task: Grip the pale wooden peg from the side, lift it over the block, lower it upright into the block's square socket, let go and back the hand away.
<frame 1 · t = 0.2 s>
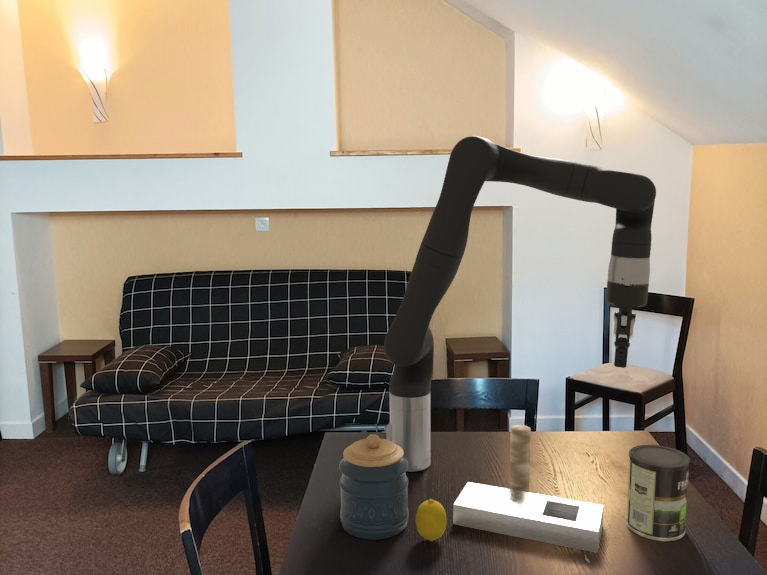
hand: (620, 361, 128), 28 cm above the table, tool pointing down, fingers open, 8 cm apart
coffee can: (654, 527, 121), on the table
peg: (519, 492, 135), on the table
block: (527, 524, 123), on the table
lemon: (431, 542, 118), on the table
canister: (374, 523, 124), on the table
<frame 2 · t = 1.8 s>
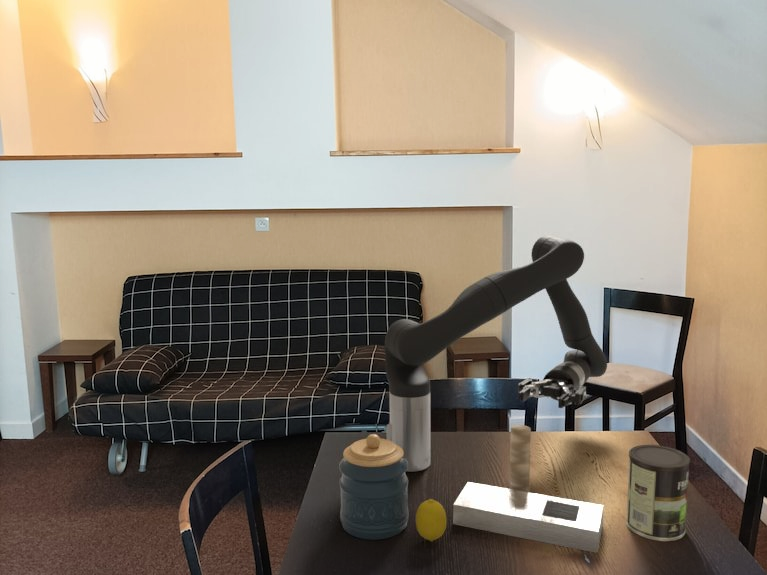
hand: (540, 400, 142), 17 cm above the table, tool horizontal, fingers open, 8 cm apart
nothing on the table moved.
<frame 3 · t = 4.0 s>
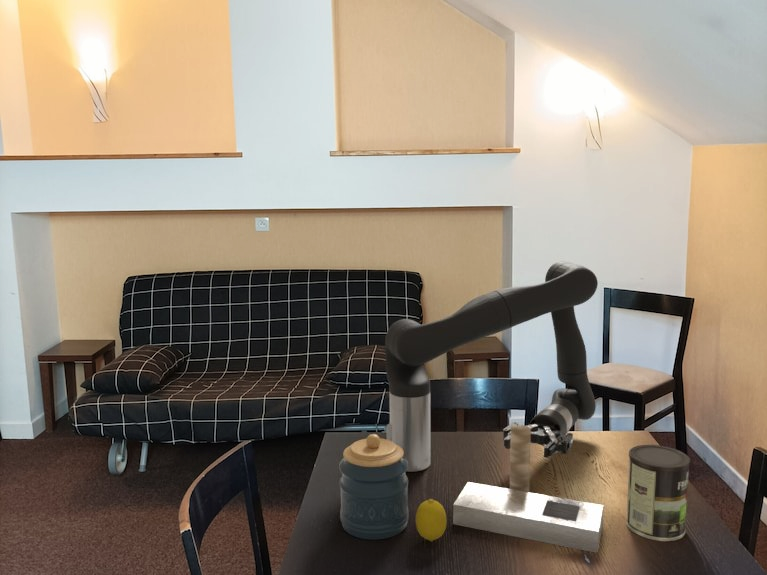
hand: (525, 448, 136), 8 cm above the table, tool horizontal, fingers open, 8 cm apart
nothing on the table moved.
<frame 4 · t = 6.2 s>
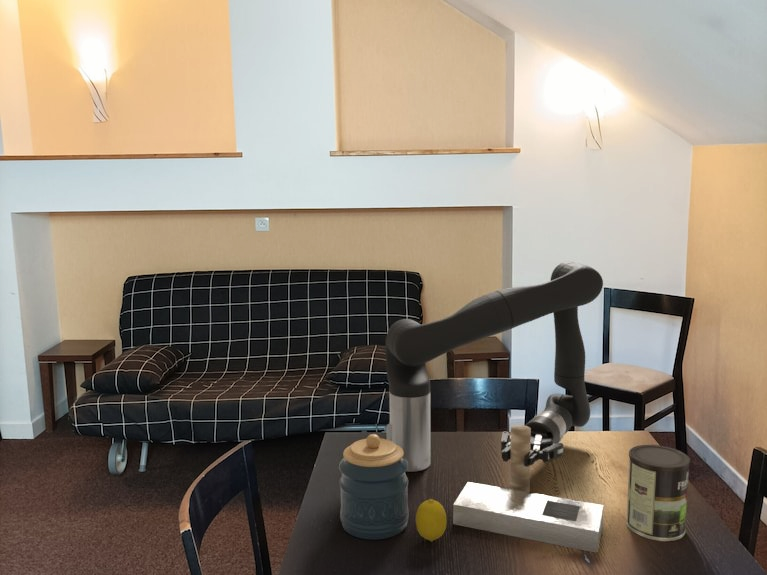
hand: (515, 459, 131), 8 cm above the table, tool horizontal, fingers closed on peg, 4 cm apart
peg: (519, 492, 135), on the table, touching gripper
everything else where it was.
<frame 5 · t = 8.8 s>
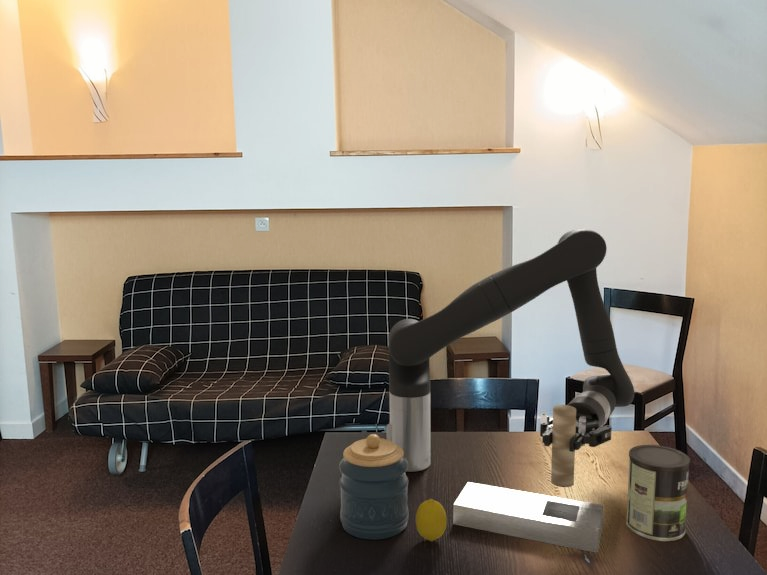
hand: (558, 443, 115), 18 cm above the table, tool horizontal, fingers closed on peg, 4 cm apart
peg: (562, 482, 119), point 9 cm above the table, touching gripper
everything else where it was.
when the fingers open (10 cm above the table, at t = 11.4 s): peg drops 1 cm, resting in block.
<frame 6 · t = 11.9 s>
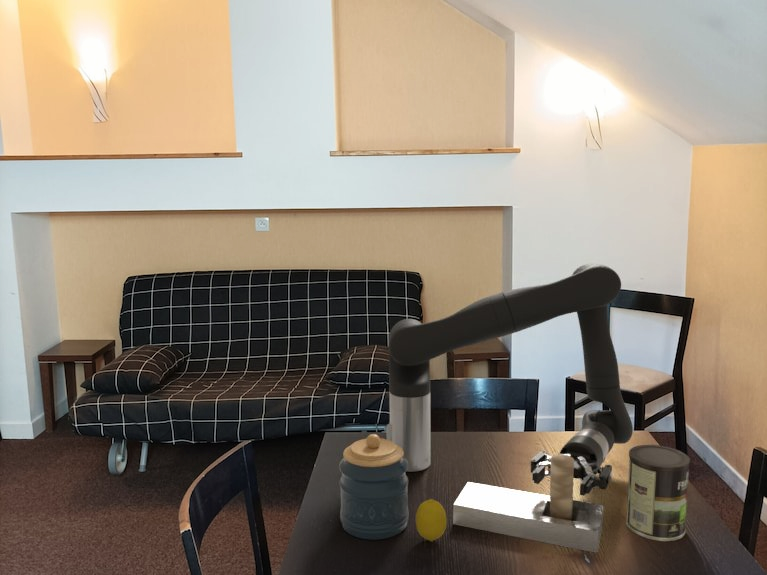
hand: (558, 484, 117), 10 cm above the table, tool horizontal, fingers open, 8 cm apart
peg: (560, 530, 120), resting in block
everything else where it was.
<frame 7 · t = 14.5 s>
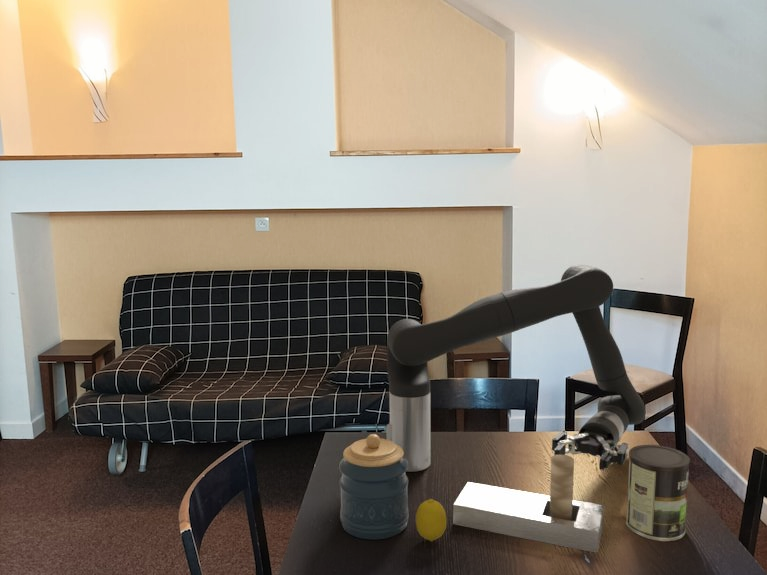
hand: (579, 460, 127), 10 cm above the table, tool horizontal, fingers open, 8 cm apart
nothing on the table moved.
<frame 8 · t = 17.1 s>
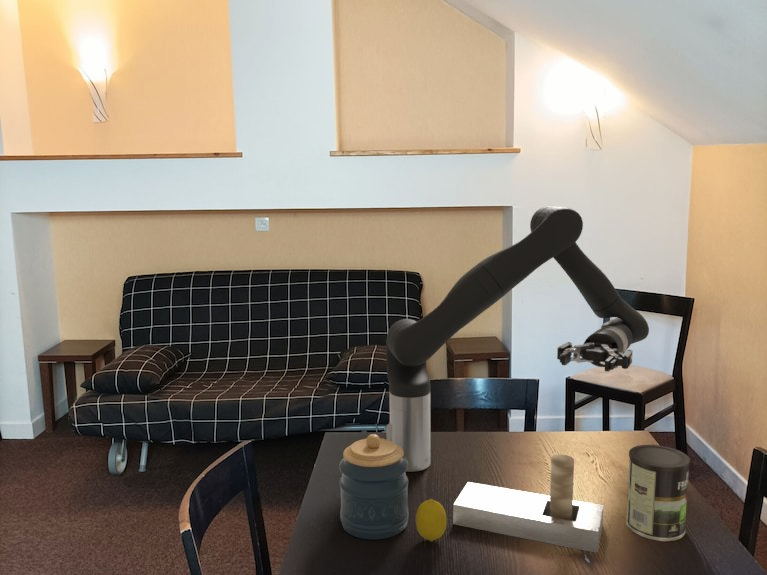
hand: (584, 363, 129), 28 cm above the table, tool horizontal, fingers open, 8 cm apart
nothing on the table moved.
at the end: peg 0.1 cm from the target spot on the block, point 0.0 cm above the block's base; peg tilted 0°; the gripper is holding nothing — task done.
